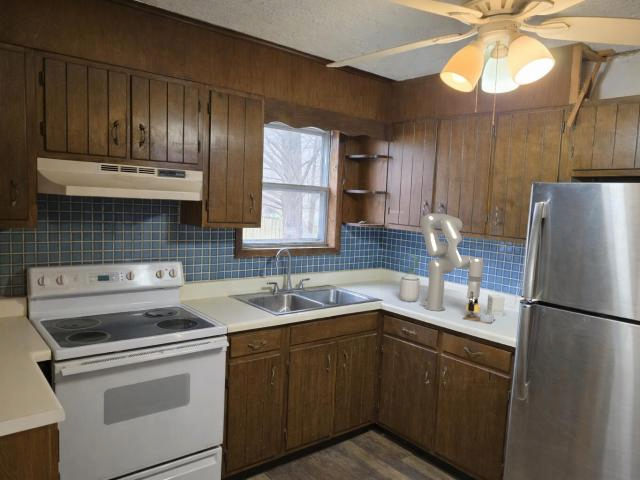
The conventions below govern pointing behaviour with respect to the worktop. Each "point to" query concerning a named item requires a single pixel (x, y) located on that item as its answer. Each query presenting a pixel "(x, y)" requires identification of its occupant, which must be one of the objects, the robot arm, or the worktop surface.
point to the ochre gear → (476, 308)
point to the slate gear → (486, 317)
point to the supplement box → (496, 305)
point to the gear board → (476, 318)
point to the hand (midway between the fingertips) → (472, 309)
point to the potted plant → (410, 284)
